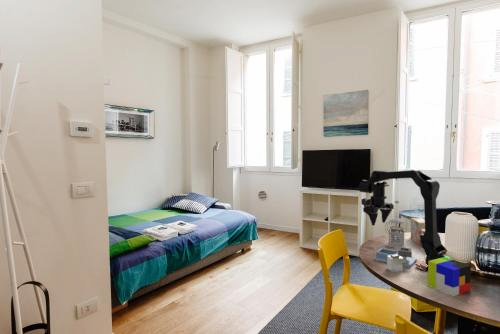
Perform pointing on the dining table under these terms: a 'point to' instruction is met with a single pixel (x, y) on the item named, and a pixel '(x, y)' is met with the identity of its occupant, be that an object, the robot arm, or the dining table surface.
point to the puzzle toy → (449, 276)
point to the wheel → (404, 252)
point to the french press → (396, 233)
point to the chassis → (383, 253)
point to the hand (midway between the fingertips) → (378, 223)
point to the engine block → (395, 263)
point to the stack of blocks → (417, 228)
